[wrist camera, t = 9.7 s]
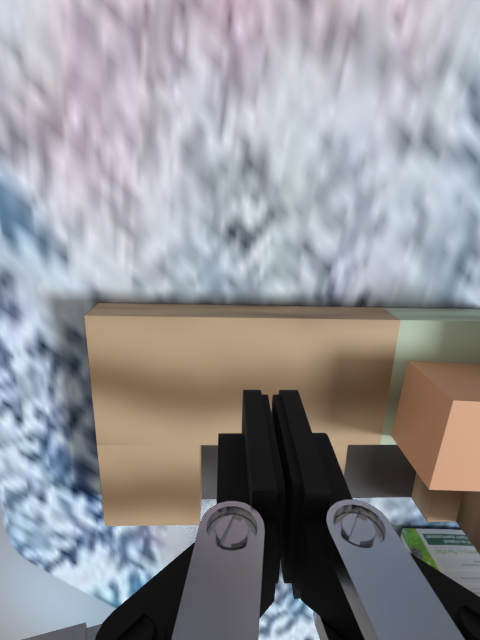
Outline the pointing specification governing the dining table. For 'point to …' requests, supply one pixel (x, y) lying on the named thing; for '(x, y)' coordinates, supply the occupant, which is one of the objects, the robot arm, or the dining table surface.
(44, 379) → the dining table surface
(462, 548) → the syrup box
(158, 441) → the board
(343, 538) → the robot arm
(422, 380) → the orange block
